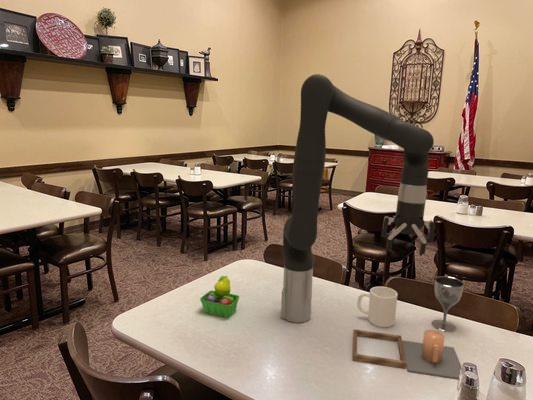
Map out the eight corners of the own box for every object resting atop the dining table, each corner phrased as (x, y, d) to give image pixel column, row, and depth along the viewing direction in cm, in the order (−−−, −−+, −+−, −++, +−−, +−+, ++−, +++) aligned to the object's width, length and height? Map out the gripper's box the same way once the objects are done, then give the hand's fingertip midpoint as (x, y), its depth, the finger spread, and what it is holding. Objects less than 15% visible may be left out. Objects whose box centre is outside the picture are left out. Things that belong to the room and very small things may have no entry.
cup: (394, 330, 119) (397, 299, 117) (354, 322, 123) (356, 293, 121) (395, 317, 127) (397, 288, 125) (357, 310, 131) (359, 282, 129)
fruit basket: (198, 313, 127) (198, 281, 125) (212, 302, 135) (212, 271, 133) (229, 320, 123) (229, 287, 121) (242, 308, 131) (242, 277, 129)
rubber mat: (407, 371, 100) (407, 369, 100) (401, 341, 113) (401, 340, 113) (466, 380, 97) (466, 378, 97) (453, 348, 110) (453, 347, 110)
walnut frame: (352, 360, 104) (353, 355, 104) (353, 333, 117) (353, 329, 117) (406, 368, 101) (406, 363, 101) (400, 340, 114) (401, 335, 114)
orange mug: (420, 351, 108) (422, 328, 106) (439, 354, 107) (442, 331, 105) (424, 365, 101) (427, 341, 100) (444, 369, 100) (447, 344, 99)
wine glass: (456, 322, 125) (461, 278, 122) (459, 334, 118) (465, 288, 114) (429, 317, 127) (434, 274, 124) (430, 329, 120) (436, 284, 117)
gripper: (436, 199, 113) (428, 252, 117) (385, 194, 117) (379, 246, 120) (440, 204, 106) (432, 260, 109) (386, 199, 110) (380, 254, 113)
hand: (404, 253), depth 115 cm, fingers open, 8 cm apart
